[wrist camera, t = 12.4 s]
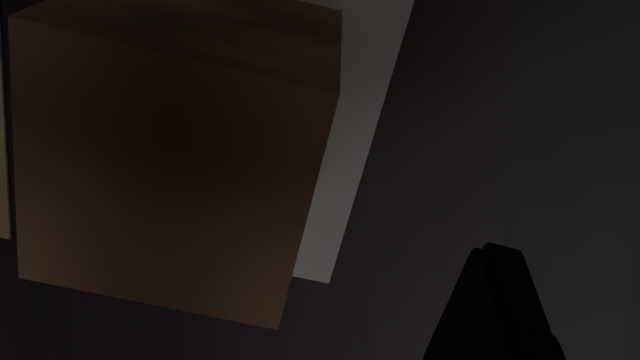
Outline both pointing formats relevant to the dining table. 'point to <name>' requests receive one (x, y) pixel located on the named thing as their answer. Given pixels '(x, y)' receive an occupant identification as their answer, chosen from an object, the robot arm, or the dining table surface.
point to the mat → (351, 123)
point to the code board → (3, 162)
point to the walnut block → (171, 146)
